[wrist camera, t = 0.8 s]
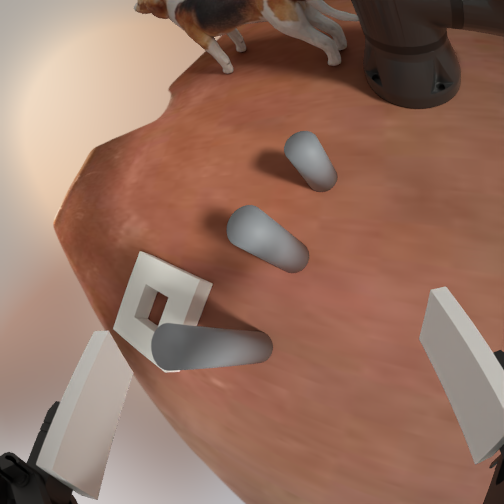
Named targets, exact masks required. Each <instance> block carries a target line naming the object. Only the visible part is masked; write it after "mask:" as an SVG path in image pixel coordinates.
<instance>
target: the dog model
mask: <svg viewBox="0 0 504 504" xmlns="http://www.w3.org/2000/svg"><path fill="white" fill-rule="evenodd" d="M134 9H135V11H137V12H139V13H142V14H148V13H152V14H153V15H154V16H156V17H158V18H163V19H168V18H169V19H170V20H171V21H172V22H174V23H175V24H176V25H177V26H179V27H180V28H182V29H183V30H184V31H185V32H186V33H187V34H188V36H189V37H191V38H192V39H193V40H194V41H195V42H196V43H198V44H199V45H200V46H201V47H202V48H203V49H205V50H206V51H207V52H208V53H210V54H211V55H212V56H213V57H214V58H215V59H216V60H217V62H218V63H219V64H220V65H221V66H222V67H223V72H224V73H226V74H229V73H232V72H233V66H232V64H231V62H230V59H229V57H228V56H227V55H226V54H225V52H224V51H223V50H222V49H221V48H220V46H219V45H218V43H217V42H216V40H215V38H214V37H216V36H221V35H225V34H227V35H228V36H229V37H230V38H231V40H232V41H233V42H234V43H235V44H236V50H237V51H238V52H243V51H245V50H246V45H245V43H244V39H243V37H242V35H241V34H240V33H239V31H238V30H237V29H236V28H237V27H239V26H241V25H244V24H249V23H258V22H266V21H268V22H269V23H270V24H271V25H272V26H273V27H274V28H276V29H277V30H279V31H280V32H282V33H284V34H286V35H288V36H291V37H294V38H297V39H301V40H303V41H305V42H307V43H310V44H312V45H314V46H316V47H318V48H320V49H322V50H324V51H325V53H326V54H327V56H328V64H329V65H331V66H336V65H338V64H340V63H341V56H340V53H339V51H338V50H343V49H345V48H346V47H347V41H346V38H345V36H344V33H343V30H342V28H341V27H340V25H339V24H337V23H336V22H334V21H333V20H331V19H329V18H327V17H326V16H324V15H322V14H321V13H324V14H326V15H329V16H331V17H334V18H336V19H339V20H345V21H359V19H358V16H357V15H354V14H350V13H347V12H343V11H338V10H336V9H334V8H332V7H330V6H329V5H327V4H326V3H325V2H324V1H323V0H138V2H137V3H136V5H135V6H134ZM320 12H321V13H320ZM313 26H314V27H316V28H318V29H320V30H322V31H324V32H326V33H328V34H330V35H331V36H332V37H333V39H334V40H333V39H331V38H330V37H328V36H327V35H325V34H323V33H321V32H320V31H318V30H316V29H315V28H314V27H313Z"/></svg>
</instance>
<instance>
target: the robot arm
mask: <svg viewBox="0 0 504 504" xmlns="http://www.w3.org/2000/svg"><path fill="white" fill-rule="evenodd" d="M351 1H352V3H353V6H354V8H355V11H356V13H357V16H358V19H359V21H360V24H361V27H362V29H363V32H364V35H365V50H364V60H363V66H364V72H365V75H366V78H367V81H368V83H369V85H370V87H371V88H372V89H373V91H374V92H375V93H376V94H378V95H379V96H380V97H382V98H383V99H385V100H386V101H388V102H391V103H393V104H396V105H399V106H403V107H408V108H431V107H435V106H439V105H441V104H444V103H446V102H447V101H449V100H450V99H452V98H453V97H454V96H455V95H456V93H457V92H458V90H459V87H460V82H461V70H460V65H459V62H458V59H457V57H456V55H455V52H454V50H453V48H452V46H451V43H450V41H449V39H448V37H447V30H446V28H453V29H462V30H469V31H476V32H482V33H488V34H493V35H498V36H503V37H504V0H351ZM419 340H420V342H421V344H422V346H423V347H424V349H425V351H426V353H427V355H428V357H429V359H430V361H431V363H432V365H433V367H434V369H435V371H436V373H437V375H438V378H439V380H440V382H441V384H442V386H443V388H444V390H445V392H446V395H447V397H448V399H449V401H450V403H451V406H452V408H453V410H454V413H455V415H456V417H457V420H458V422H459V424H460V427H461V429H462V432H463V434H464V436H465V439H466V442H467V444H468V447H469V449H470V452H471V455H472V457H473V460H474V463H475V465H476V464H478V463H480V462H482V461H484V460H486V459H488V458H490V457H492V456H493V455H494V454H495V453H496V452H497V451H498V450H499V449H500V452H501V455H500V456H498V457H497V458H496V459H495V460H494V461H493V462H492V463H491V465H490V467H489V468H492V467H494V466H495V465H496V464H497V465H496V468H495V472H494V475H493V478H492V481H491V484H490V486H489V489H488V492H487V495H486V497H485V500H484V502H483V504H504V352H503V351H501V350H499V351H497V352H494V353H493V352H492V351H491V349H490V348H489V346H488V345H487V343H486V342H485V340H484V339H483V337H482V336H481V334H480V333H479V331H478V330H477V328H476V327H475V325H474V324H473V323H472V321H471V320H470V318H469V317H468V316H467V314H466V313H465V311H464V310H463V309H462V307H461V306H460V305H459V303H458V302H457V301H456V299H455V298H454V297H453V295H452V294H451V293H450V291H449V290H448V289H447V287H441V288H437V289H432V290H430V295H429V300H428V304H427V309H426V313H425V317H424V321H423V325H422V329H421V333H420V337H419ZM132 376H133V371H132V370H131V368H130V367H129V365H128V363H127V362H126V360H125V358H124V357H123V355H122V353H121V351H120V350H119V348H118V346H117V345H116V343H115V341H114V339H113V337H112V336H111V334H110V332H109V331H94V333H93V335H92V337H91V339H90V341H89V343H88V345H87V347H86V349H85V351H84V353H83V355H82V357H81V359H80V361H79V363H78V365H77V367H76V369H75V371H74V373H73V375H72V378H71V380H70V382H69V384H68V386H67V388H66V391H65V393H64V395H63V397H62V400H61V402H57V401H56V402H55V403H54V404H53V405H52V407H51V408H50V409H49V410H48V412H47V414H46V417H45V419H44V423H43V424H42V426H41V429H40V430H41V431H40V432H39V433H38V436H37V438H36V441H35V443H34V446H33V449H32V451H31V454H30V456H29V459H28V461H27V463H25V462H24V461H23V460H21V459H20V458H19V457H17V456H16V455H15V454H14V453H10V452H8V453H4V454H3V455H2V456H0V504H78V503H77V501H76V499H75V498H74V496H73V495H72V491H73V490H74V491H75V492H77V493H78V494H81V495H82V496H86V497H89V498H93V499H96V500H98V496H99V491H100V487H101V483H102V479H103V475H104V471H105V467H106V464H107V460H108V456H109V452H110V449H111V445H112V441H113V438H114V434H115V431H116V427H117V424H118V421H119V417H120V414H121V411H122V407H123V404H124V401H125V398H126V395H127V392H128V388H129V385H130V382H131V379H132Z"/></svg>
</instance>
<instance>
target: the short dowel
mask: <svg viewBox="0 0 504 504" xmlns="http://www.w3.org/2000/svg"><path fill="white" fill-rule="evenodd" d="M284 152H285V155H286V156H287V158H288V159H289V160H290V161H291V163H292V164H293V165H294V167H295V168H296V169H297V170H298V172H299V173H300V174H301V176H302V177H303V178H304V179H305V181H306V182H307V183H308V185H309V186H310V187H311V188H312V189H313V190H314V191H317V192H325V191H328V190H330V189H331V188H332V187H333V186H334V185H335V183H336V181H337V173H336V171H335V169H334V167H333V165H332V163H331V162H330V160H329V158H328V156H327V154H326V153H325V151H324V149H323V147H322V146H321V144H320V142H319V140H318V139H317V137H316V136H315V135H314V134H313V133H311V132H309V131H301V132H297V133H295V134H293V135H292V136H291V137H290V138H289V139H288V140H287V141H286V143H285V146H284Z"/></svg>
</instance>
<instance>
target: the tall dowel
mask: <svg viewBox="0 0 504 504" xmlns="http://www.w3.org/2000/svg"><path fill="white" fill-rule="evenodd" d="M272 350H273V345H272V341H271V339H270V337H269V336H268V335H267V334H265V333H264V332H260V331H246V330H233V329H222V328H211V327H201V326H191V325H182V324H173V323H164V324H162V325H160V326H159V327H158V328H157V329H156V331H155V332H154V334H153V337H152V341H151V351H152V355H153V358H154V360H155V362H156V364H157V365H158V366H159V367H160V368H162V369H164V370H167V371H172V370H190V369H204V368H216V367H227V366H237V365H246V364H254V363H262V362H264V361H266V360H267V359H268V358H269V357H270V356H271V354H272Z"/></svg>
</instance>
